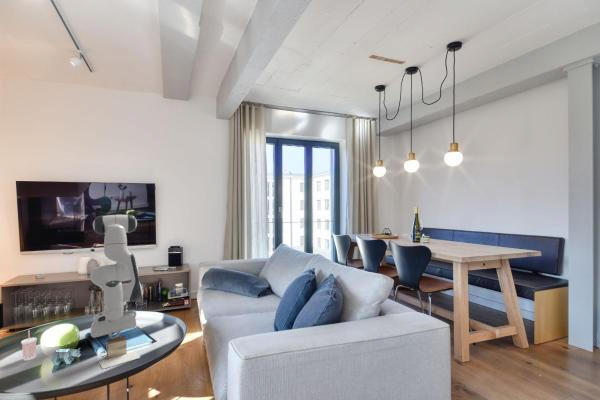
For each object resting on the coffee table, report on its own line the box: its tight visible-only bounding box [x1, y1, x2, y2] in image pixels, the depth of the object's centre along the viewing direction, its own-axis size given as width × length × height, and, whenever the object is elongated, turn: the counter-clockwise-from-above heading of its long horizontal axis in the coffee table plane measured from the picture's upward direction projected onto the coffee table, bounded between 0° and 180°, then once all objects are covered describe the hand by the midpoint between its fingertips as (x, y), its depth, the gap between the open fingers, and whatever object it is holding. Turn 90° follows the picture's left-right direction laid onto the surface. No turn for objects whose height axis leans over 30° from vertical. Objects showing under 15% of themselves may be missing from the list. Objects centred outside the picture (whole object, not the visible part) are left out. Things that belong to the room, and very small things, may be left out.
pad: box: [98, 350, 141, 370], centre depth 158 cm, size 9×16×1 cm, turn 131°
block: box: [105, 335, 128, 359], centre depth 163 cm, size 4×8×8 cm, turn 131°
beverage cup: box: [20, 329, 38, 361], centre depth 162 cm, size 6×6×14 cm
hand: (114, 340), depth 166 cm, fingers closed
